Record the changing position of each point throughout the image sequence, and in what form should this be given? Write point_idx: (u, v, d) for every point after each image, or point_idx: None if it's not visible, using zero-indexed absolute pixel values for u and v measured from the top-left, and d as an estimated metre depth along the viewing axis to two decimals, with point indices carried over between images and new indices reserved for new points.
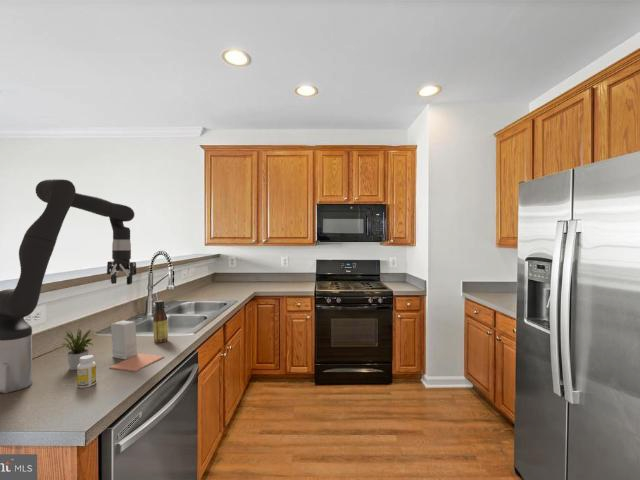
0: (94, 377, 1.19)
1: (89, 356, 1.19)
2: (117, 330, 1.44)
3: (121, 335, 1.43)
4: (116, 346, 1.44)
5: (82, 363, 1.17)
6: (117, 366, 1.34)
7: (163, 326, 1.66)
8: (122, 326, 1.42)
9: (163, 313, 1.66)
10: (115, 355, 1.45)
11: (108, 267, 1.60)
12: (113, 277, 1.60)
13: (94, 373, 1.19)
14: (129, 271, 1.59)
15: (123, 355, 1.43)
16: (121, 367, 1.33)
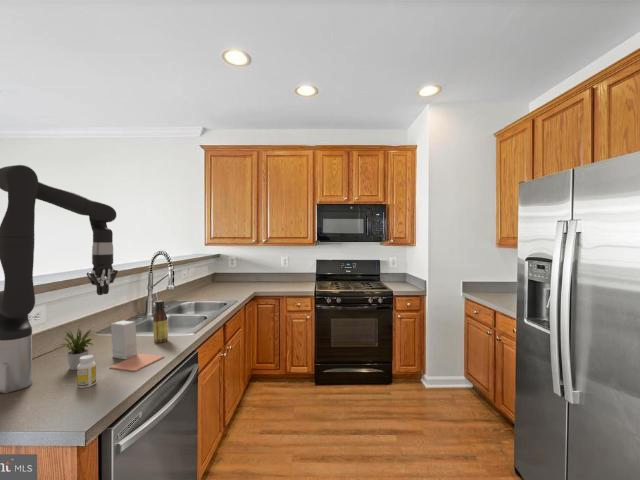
0: (94, 377, 1.19)
1: (89, 356, 1.19)
2: (117, 330, 1.44)
3: (121, 335, 1.43)
4: (116, 346, 1.44)
5: (82, 363, 1.17)
6: (117, 366, 1.34)
7: (163, 326, 1.66)
8: (122, 326, 1.42)
9: (163, 313, 1.66)
10: (115, 355, 1.45)
11: (95, 278, 1.39)
12: None
13: (94, 373, 1.19)
14: None
15: (123, 355, 1.43)
16: (121, 367, 1.33)
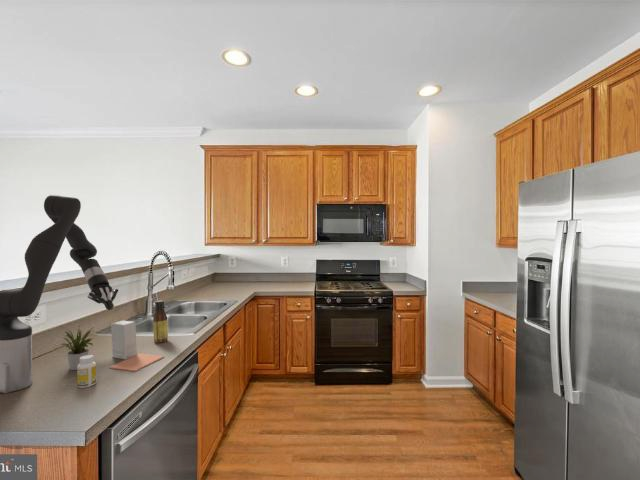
0: (94, 377, 1.19)
1: (89, 356, 1.19)
2: (117, 330, 1.44)
3: (121, 335, 1.43)
4: (116, 346, 1.44)
5: (82, 363, 1.17)
6: (117, 366, 1.34)
7: (163, 326, 1.66)
8: (122, 326, 1.42)
9: (163, 313, 1.66)
10: (115, 355, 1.45)
11: (95, 296, 1.50)
12: None
13: (94, 373, 1.19)
14: None
15: (123, 355, 1.43)
16: (121, 367, 1.33)
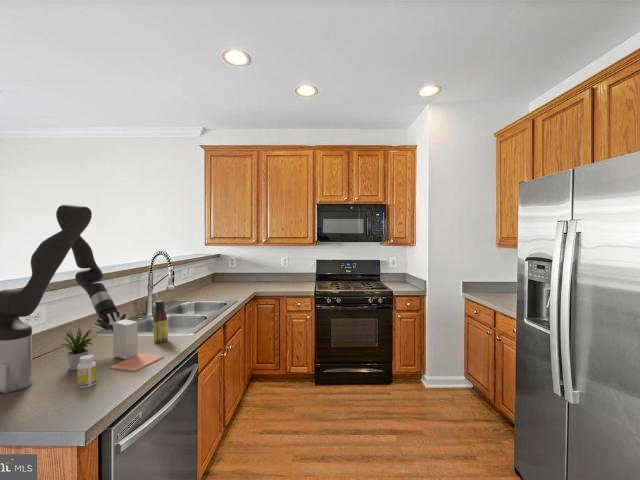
0: (94, 377, 1.19)
1: (89, 356, 1.19)
2: (119, 329, 1.43)
3: (122, 335, 1.43)
4: (117, 345, 1.44)
5: (82, 363, 1.17)
6: (117, 366, 1.34)
7: (163, 326, 1.66)
8: (124, 326, 1.42)
9: (163, 313, 1.66)
10: (115, 354, 1.45)
11: (103, 322, 1.47)
12: None
13: (94, 373, 1.19)
14: None
15: (123, 355, 1.43)
16: (121, 367, 1.33)
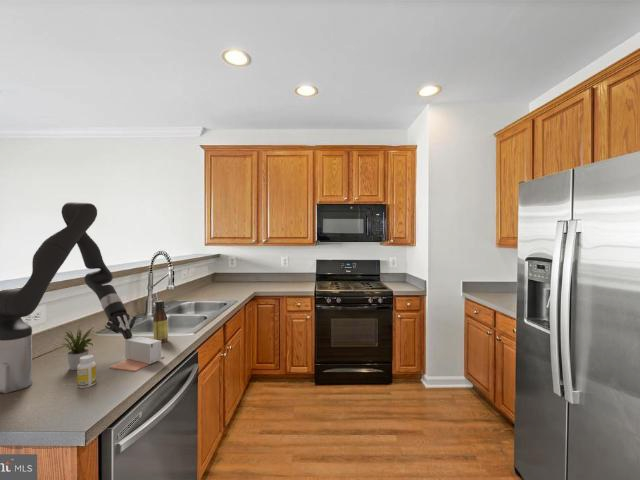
0: (94, 377, 1.19)
1: (89, 356, 1.19)
2: (145, 353, 1.37)
3: (141, 357, 1.38)
4: (133, 349, 1.40)
5: (82, 363, 1.17)
6: (117, 366, 1.34)
7: (163, 326, 1.66)
8: (148, 362, 1.37)
9: (163, 313, 1.66)
10: (126, 344, 1.42)
11: (113, 325, 1.43)
12: None
13: (94, 373, 1.19)
14: (125, 327, 1.48)
15: (127, 356, 1.42)
16: (121, 367, 1.33)
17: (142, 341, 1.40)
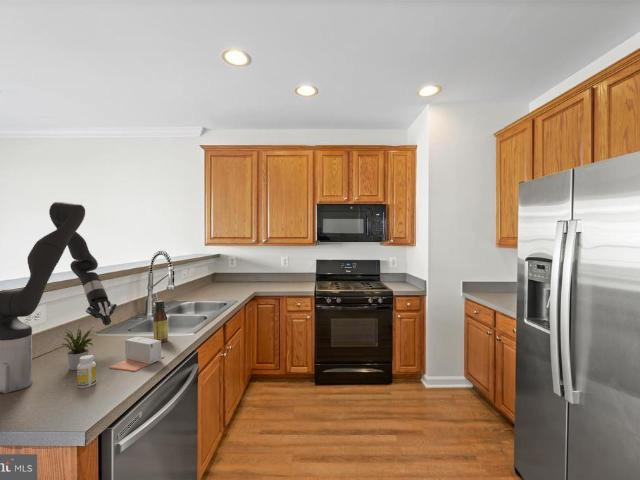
0: (94, 377, 1.19)
1: (89, 356, 1.19)
2: (144, 353, 1.37)
3: (141, 358, 1.38)
4: (132, 349, 1.40)
5: (82, 363, 1.17)
6: (117, 366, 1.34)
7: (163, 326, 1.66)
8: (148, 362, 1.37)
9: (163, 313, 1.66)
10: (126, 345, 1.42)
11: (94, 310, 1.50)
12: None
13: (94, 373, 1.19)
14: (105, 313, 1.54)
15: (127, 357, 1.42)
16: (121, 367, 1.33)
17: (142, 341, 1.40)
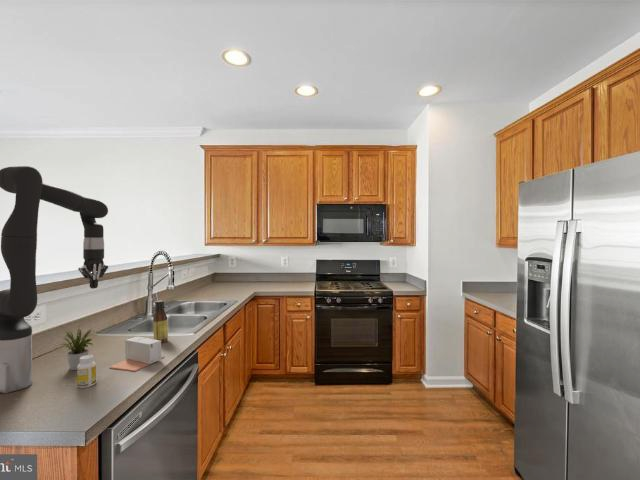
0: (94, 377, 1.19)
1: (89, 356, 1.19)
2: (144, 353, 1.37)
3: (141, 358, 1.38)
4: (132, 349, 1.40)
5: (82, 363, 1.17)
6: (117, 366, 1.34)
7: (163, 326, 1.66)
8: (148, 362, 1.37)
9: (163, 313, 1.66)
10: (126, 345, 1.42)
11: (87, 272, 1.43)
12: None
13: (94, 373, 1.19)
14: (95, 273, 1.49)
15: (127, 357, 1.42)
16: (121, 367, 1.33)
17: (142, 341, 1.40)
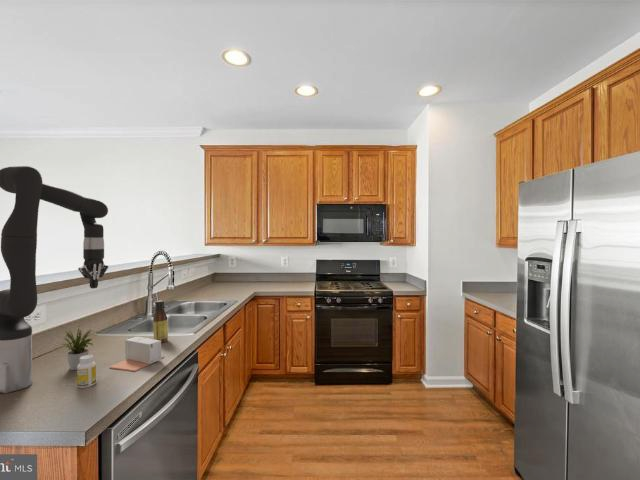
0: (94, 377, 1.19)
1: (89, 356, 1.19)
2: (144, 353, 1.37)
3: (141, 358, 1.38)
4: (132, 349, 1.40)
5: (82, 363, 1.17)
6: (117, 366, 1.34)
7: (163, 326, 1.66)
8: (148, 362, 1.37)
9: (163, 313, 1.66)
10: (126, 345, 1.42)
11: (87, 272, 1.43)
12: None
13: (94, 373, 1.19)
14: (95, 273, 1.49)
15: (127, 357, 1.42)
16: (121, 367, 1.33)
17: (142, 341, 1.40)
